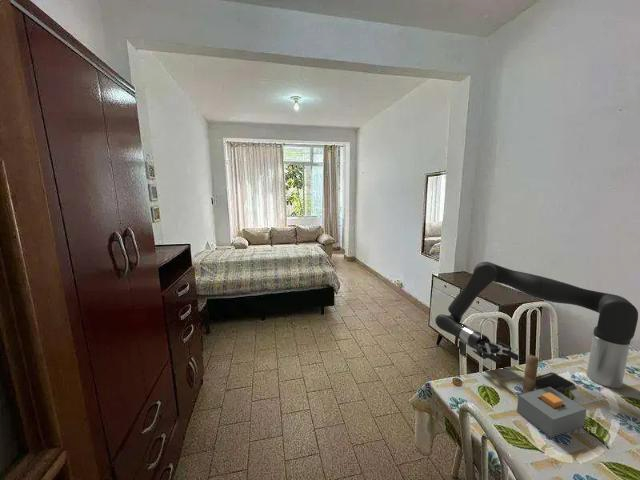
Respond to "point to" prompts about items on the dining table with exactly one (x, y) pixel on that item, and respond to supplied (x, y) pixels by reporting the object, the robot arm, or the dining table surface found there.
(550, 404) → the button
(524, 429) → the dining table surface
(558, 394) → the box
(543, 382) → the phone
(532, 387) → the brown wooden rod
